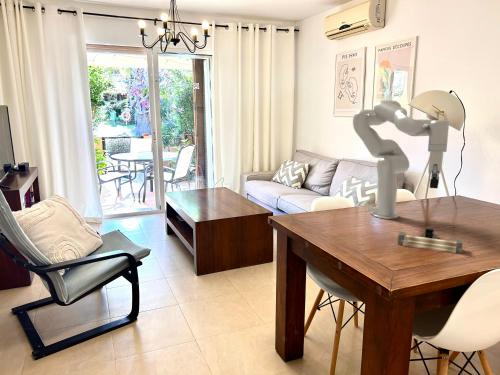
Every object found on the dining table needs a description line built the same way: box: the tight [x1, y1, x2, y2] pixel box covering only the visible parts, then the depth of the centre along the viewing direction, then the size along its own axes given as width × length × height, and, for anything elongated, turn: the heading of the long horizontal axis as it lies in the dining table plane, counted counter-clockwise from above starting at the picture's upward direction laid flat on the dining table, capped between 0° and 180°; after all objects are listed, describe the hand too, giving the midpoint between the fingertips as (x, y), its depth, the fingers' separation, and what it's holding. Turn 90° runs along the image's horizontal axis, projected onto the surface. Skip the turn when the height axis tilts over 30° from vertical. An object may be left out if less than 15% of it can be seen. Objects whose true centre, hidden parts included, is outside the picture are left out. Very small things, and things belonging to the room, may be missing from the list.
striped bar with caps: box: [397, 231, 464, 254], centre depth 151 cm, size 23×6×4 cm, turn 62°
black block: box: [421, 226, 438, 239], centre depth 163 cm, size 12×7×5 cm, turn 148°
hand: (434, 186), depth 171 cm, fingers open, 8 cm apart
